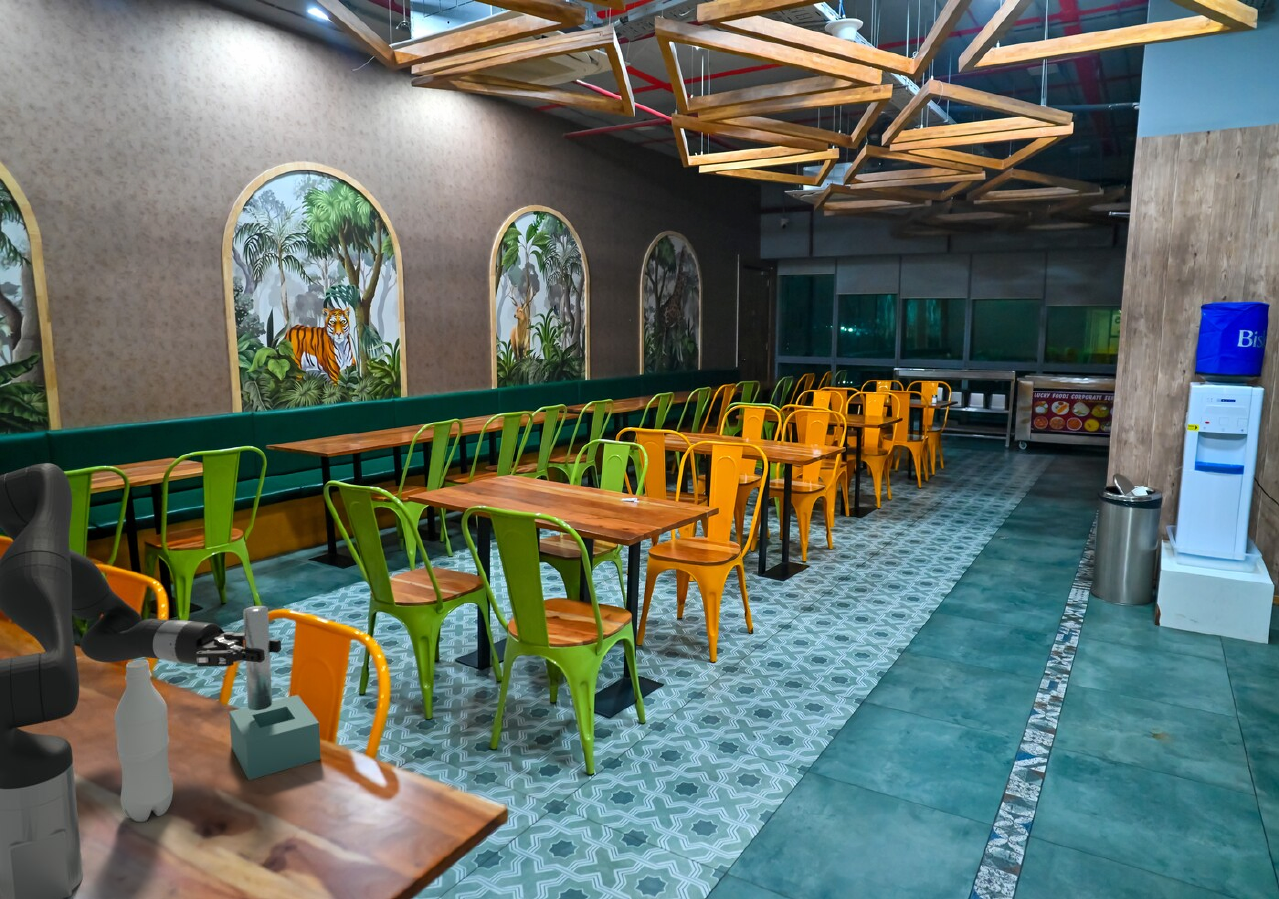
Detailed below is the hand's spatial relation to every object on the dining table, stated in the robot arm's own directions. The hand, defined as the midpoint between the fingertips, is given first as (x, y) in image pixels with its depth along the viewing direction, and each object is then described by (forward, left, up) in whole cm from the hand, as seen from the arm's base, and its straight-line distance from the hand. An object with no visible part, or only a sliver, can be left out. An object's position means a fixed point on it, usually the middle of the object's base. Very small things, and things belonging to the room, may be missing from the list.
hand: (271, 651), depth 147 cm
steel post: (+2, +2, -10) cm, 11 cm away
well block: (+1, 0, -20) cm, 20 cm away
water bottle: (-7, +21, -20) cm, 30 cm away
